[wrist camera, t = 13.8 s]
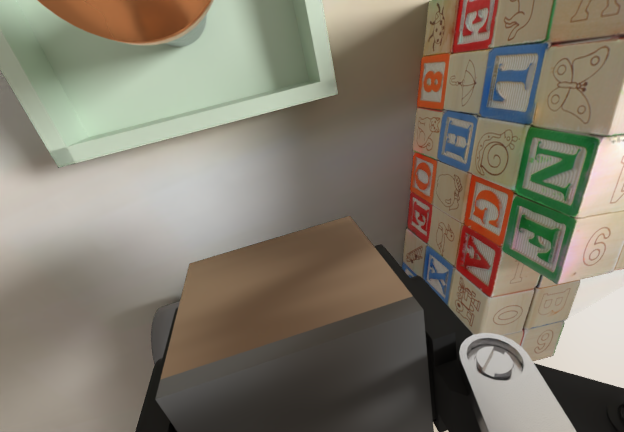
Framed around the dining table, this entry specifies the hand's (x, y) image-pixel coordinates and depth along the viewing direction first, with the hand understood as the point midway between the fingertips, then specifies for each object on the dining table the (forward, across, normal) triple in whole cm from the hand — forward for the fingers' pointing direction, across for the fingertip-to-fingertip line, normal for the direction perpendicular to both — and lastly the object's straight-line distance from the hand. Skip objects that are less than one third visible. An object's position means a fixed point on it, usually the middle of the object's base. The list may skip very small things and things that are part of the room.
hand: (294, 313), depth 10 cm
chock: (+1, 0, 0) cm, 1 cm away
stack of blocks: (+13, -14, +2) cm, 19 cm away
